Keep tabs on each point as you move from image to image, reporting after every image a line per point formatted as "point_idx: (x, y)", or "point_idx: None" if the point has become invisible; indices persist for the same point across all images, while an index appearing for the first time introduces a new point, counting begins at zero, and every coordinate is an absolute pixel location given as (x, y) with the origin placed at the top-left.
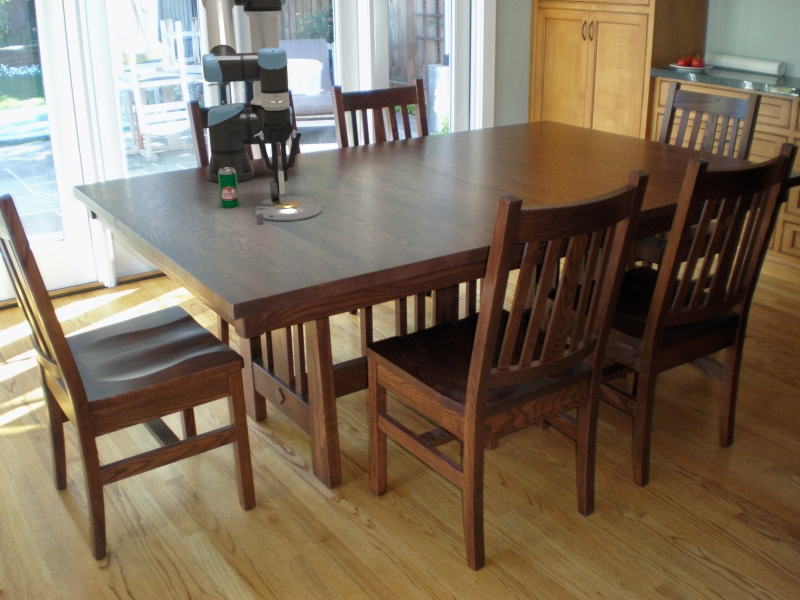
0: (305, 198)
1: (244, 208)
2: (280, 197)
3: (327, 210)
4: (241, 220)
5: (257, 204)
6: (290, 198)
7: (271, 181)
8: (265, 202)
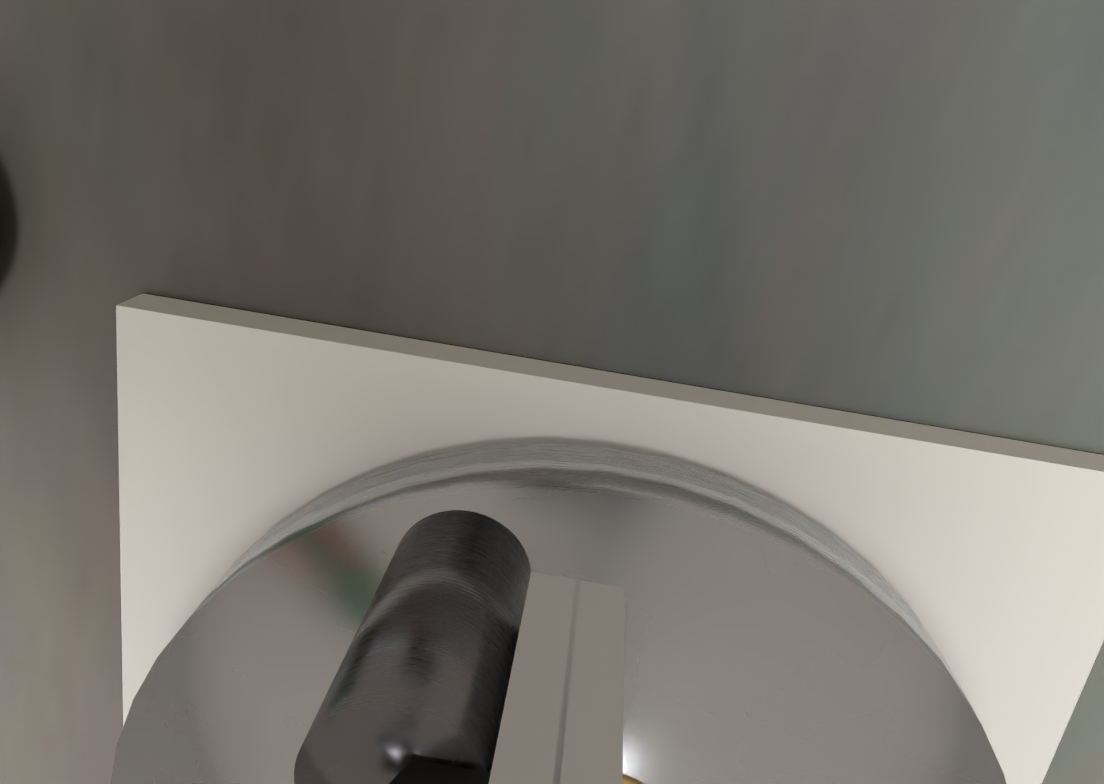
0: (909, 732)
1: (93, 168)
2: (568, 511)
3: (1100, 736)
4: (31, 664)
5: (158, 710)
6: (697, 632)
7: (340, 736)
8: (283, 666)
